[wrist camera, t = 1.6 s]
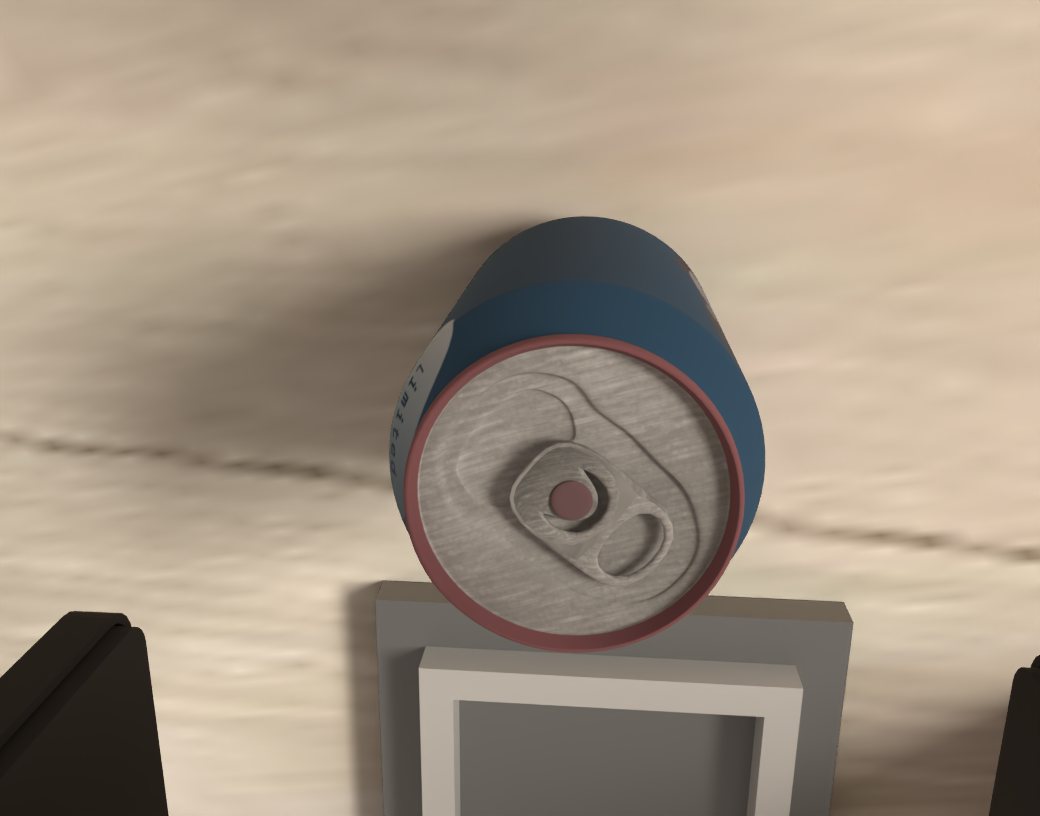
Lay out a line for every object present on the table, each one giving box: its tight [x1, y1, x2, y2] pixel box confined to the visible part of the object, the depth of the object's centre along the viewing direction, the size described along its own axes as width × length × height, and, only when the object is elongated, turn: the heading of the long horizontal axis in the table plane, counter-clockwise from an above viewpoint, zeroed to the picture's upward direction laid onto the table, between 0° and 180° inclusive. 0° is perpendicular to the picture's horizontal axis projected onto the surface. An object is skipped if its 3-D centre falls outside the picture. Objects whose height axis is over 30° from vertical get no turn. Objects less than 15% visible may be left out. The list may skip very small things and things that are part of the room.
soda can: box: [389, 216, 765, 653], centre depth 22 cm, size 7×7×12 cm
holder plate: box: [375, 581, 853, 816], centre depth 31 cm, size 14×14×2 cm
